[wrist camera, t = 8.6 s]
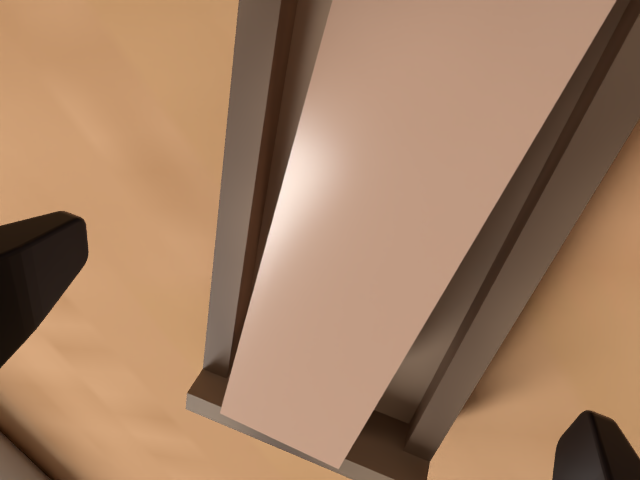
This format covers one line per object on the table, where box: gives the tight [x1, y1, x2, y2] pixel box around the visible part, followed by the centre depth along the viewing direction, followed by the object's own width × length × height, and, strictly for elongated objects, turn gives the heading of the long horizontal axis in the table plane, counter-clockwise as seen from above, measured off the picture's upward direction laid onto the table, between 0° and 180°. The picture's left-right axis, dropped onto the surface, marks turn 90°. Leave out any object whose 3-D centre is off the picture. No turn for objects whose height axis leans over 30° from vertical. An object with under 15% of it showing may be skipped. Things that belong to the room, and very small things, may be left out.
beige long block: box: [220, 0, 616, 469], centre depth 13 cm, size 4×16×4 cm, turn 164°
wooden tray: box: [186, 0, 640, 480], centre depth 14 cm, size 9×22×3 cm, turn 169°
